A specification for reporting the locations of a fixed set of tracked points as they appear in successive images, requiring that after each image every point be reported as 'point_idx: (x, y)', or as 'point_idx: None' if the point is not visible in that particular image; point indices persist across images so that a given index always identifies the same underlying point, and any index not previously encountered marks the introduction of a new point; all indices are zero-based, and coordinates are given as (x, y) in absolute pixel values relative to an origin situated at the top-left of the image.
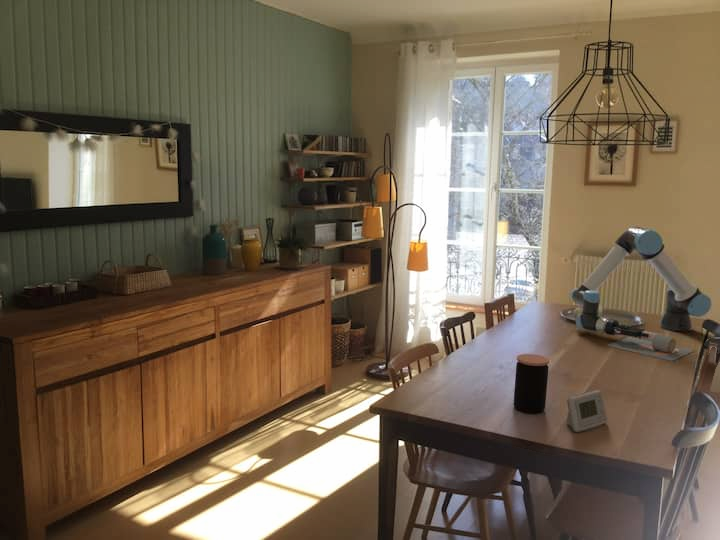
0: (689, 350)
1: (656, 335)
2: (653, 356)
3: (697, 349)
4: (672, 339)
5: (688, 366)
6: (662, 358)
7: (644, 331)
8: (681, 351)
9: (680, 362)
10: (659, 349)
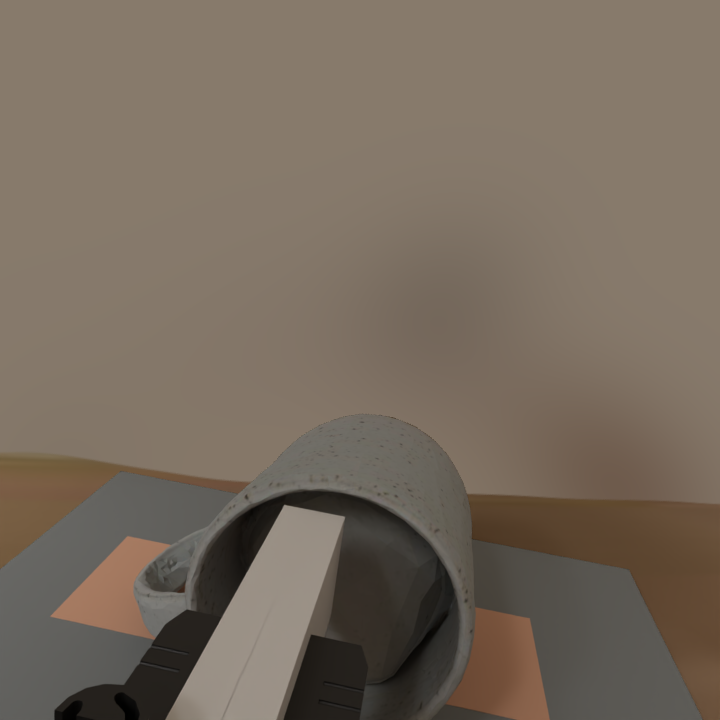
0: (114, 487)
1: (428, 510)
2: (700, 715)
3: (17, 457)
4: (410, 425)
5: (619, 503)
6: (656, 632)
7: (220, 697)
8: (199, 526)
9: (579, 534)
10: (421, 651)
